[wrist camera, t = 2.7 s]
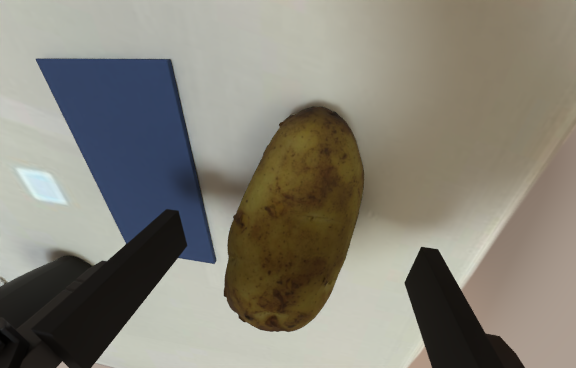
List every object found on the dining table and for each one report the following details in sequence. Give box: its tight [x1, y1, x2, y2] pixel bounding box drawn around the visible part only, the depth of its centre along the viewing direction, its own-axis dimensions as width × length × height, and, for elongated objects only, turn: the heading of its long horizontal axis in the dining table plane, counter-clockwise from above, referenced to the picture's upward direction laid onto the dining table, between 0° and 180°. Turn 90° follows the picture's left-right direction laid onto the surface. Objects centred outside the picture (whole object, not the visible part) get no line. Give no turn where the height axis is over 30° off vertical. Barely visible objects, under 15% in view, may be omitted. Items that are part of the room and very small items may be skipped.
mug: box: [0, 256, 91, 330], centre depth 26 cm, size 8×12×10 cm
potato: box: [224, 107, 364, 332], centre depth 13 cm, size 8×13×8 cm, turn 149°
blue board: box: [36, 59, 216, 264], centre depth 19 cm, size 18×10×1 cm, turn 0°
